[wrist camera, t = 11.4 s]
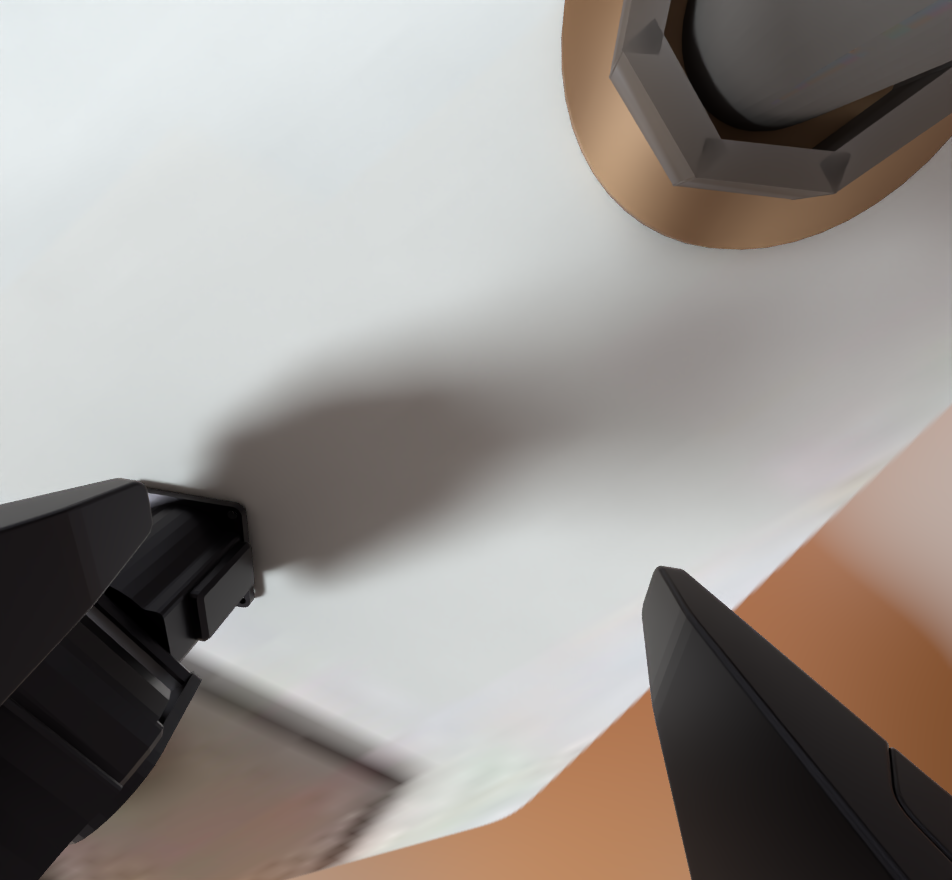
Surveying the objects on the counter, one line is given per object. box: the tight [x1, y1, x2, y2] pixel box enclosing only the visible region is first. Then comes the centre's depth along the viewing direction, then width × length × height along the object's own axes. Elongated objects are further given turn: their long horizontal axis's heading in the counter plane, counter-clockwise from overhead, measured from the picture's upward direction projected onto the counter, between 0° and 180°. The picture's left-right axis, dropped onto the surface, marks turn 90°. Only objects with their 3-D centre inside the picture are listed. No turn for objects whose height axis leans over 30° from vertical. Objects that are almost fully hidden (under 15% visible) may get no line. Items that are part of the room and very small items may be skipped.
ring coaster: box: [561, 0, 952, 250], centre depth 13 cm, size 13×13×3 cm
